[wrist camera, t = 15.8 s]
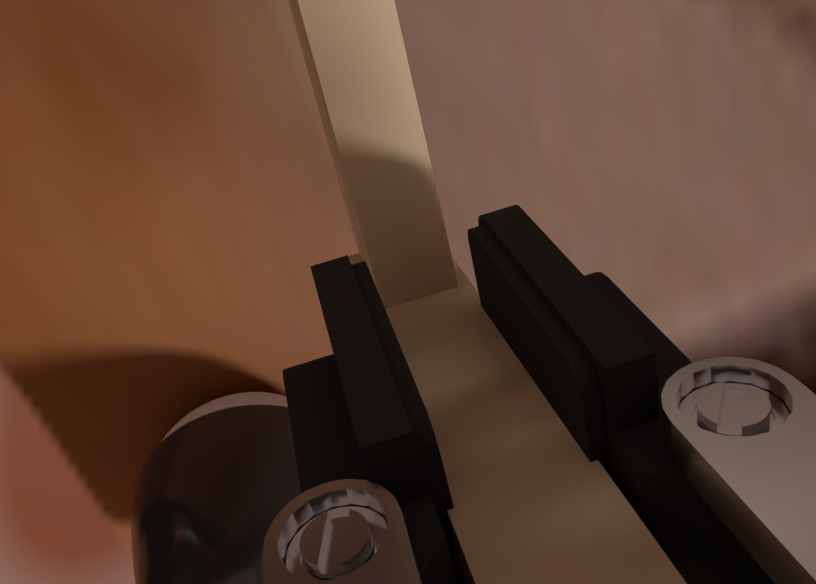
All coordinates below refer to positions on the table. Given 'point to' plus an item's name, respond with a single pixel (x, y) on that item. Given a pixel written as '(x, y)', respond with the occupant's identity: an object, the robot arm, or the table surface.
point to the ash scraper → (460, 333)
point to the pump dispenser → (214, 492)
